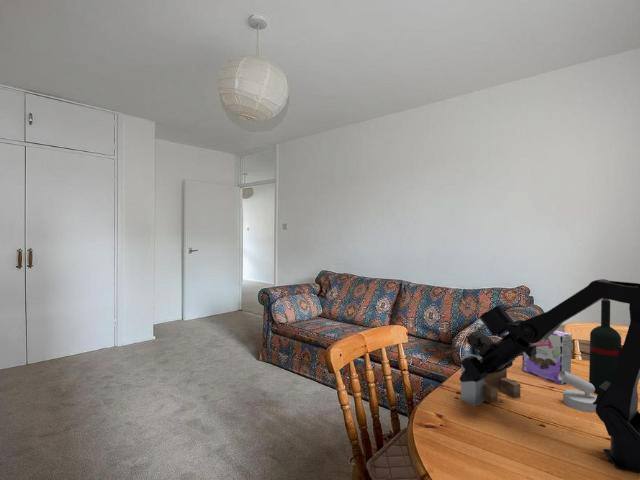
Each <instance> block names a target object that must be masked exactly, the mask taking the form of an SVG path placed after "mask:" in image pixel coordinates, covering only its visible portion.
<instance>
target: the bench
mask: <svg viewBox="0 0 640 480" xmlns="http://www.w3.org/2000/svg"><path fill="white" fill-rule="evenodd" d="M507 370H508V368H507V369H505V370H503V371H500V372H496V373H490V374H487V377H485V378H484V401H486V402H488V403H490V404H493V403H498V402H499V397H498V395H499V391H500V393H503V394H504V395H507V396H508V397H510V398H511V399H512V398H513V399H519V398H521V383H520V382H517V381H516V380H513V379H510V378H508V377H507V375H508V371H507Z"/></svg>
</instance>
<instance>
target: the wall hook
mask: <svg viewBox="0 0 640 480" xmlns="http://www.w3.org/2000/svg"><path fill="white" fill-rule="evenodd" d="M558 378H559V380H561V381H563V382H565V384H567V385H569V386H572V387H574V388H575V389H566V390H564V391H563V392H562V402H563V403H564V405H566V406H567V407H569V408H571V409H575V410H577V411H581V412H585V413H596V406H597V405H594V404H593V402H595V401H596V399H597V395H594V394H595V393H594V392H595V387H594V386H593V385H592V384H591V383H589V381H587V380H584V379H583V378H580V377H578V376H576V375H574V374H572V373H571V374H570V373H568V372H566V371H564V370H562V371H561V372H560V373H559V376H558ZM576 389H577V390H576Z"/></svg>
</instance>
